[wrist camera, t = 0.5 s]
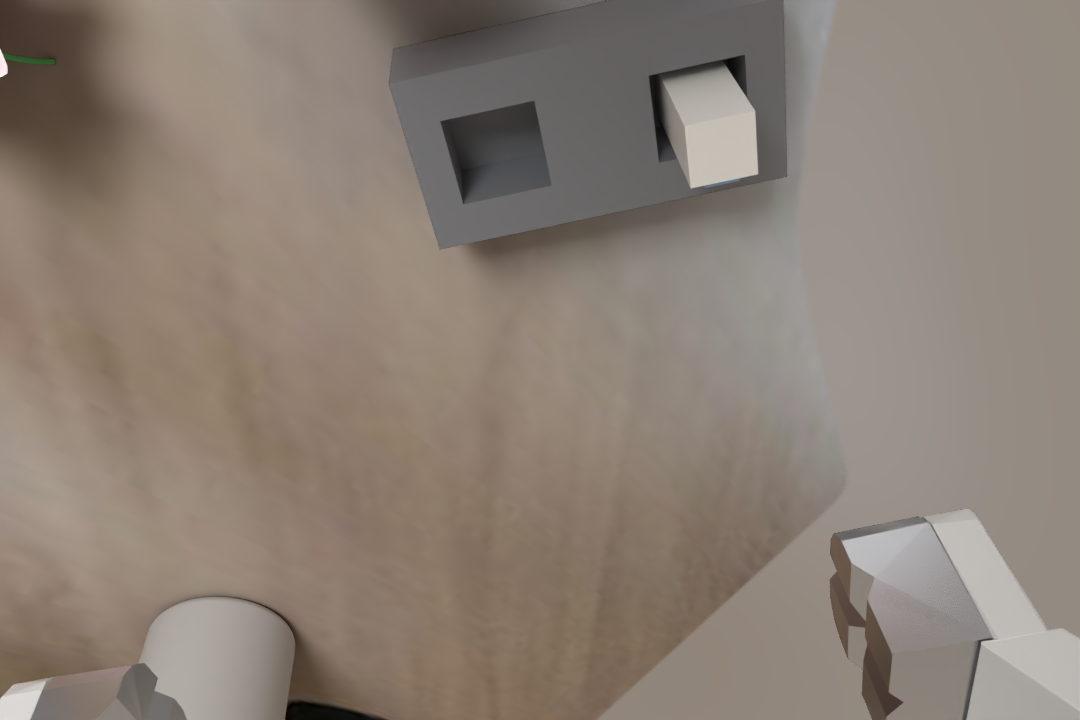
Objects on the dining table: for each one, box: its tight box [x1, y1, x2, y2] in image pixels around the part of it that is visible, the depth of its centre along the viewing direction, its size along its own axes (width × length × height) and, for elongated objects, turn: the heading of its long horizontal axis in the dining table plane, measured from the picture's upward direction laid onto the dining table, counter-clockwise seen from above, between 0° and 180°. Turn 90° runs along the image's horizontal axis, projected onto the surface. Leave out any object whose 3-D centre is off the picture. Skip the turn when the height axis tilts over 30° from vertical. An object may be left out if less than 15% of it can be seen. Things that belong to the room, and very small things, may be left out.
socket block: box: [389, 0, 787, 249], centre depth 50 cm, size 10×20×5 cm, turn 101°
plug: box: [653, 60, 758, 188], centre depth 48 cm, size 4×3×9 cm
